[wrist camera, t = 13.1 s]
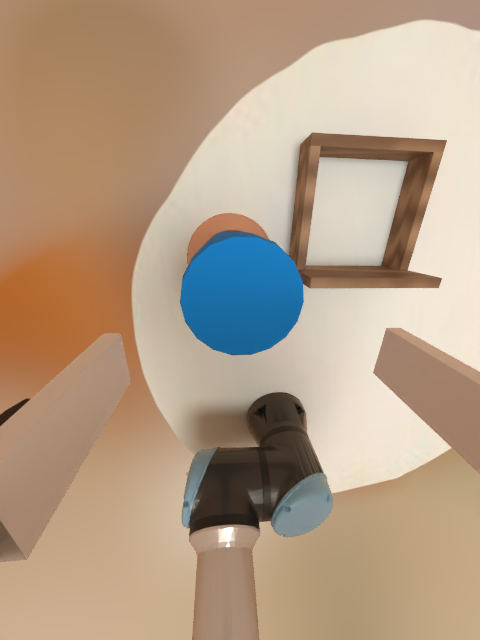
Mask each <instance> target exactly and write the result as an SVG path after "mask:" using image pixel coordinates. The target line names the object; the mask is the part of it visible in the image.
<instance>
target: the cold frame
mask: <svg viewBox="0 0 480 640" xmlns="http://www.w3.org/2000/svg"><path fill="white" fill-rule="evenodd" d="M446 142H447V140H431V139H413V138H395V137H378V136H360V135H342V134H324V133H312V134H311V135H310V136H309V137H308V138H307V139H306V140H305V141H304V142H303V143H302V144H301V147H300V157H299V167H298V177H297V187H296V197H295V207H294V216H293V226H292V236H291V246H290V256H289V257H290V258H291V259H292V260H293V261H294V263H295V265H296V267H297V269H298V272H299V274H300V276H301V279H302V281H303V284H305V285H306V286H308V287H309V288H439V285H440V283H441V280H442V278H438V277H434V276H429V275H425V274H421V273H416V272H412V271H408V267H409V263H410V260H411V257H412V253H413V250H414V247H415V244H416V240H417V237H418V234H419V230H420V227H421V224H422V221H423V217H424V214H425V211H426V207H427V204H428V201H429V198H430V194H431V191H432V188H433V184H434V181H435V178H436V175H437V171H438V168H439V165H440V161H441V158H442V155H443V152H444V148H445V145H446ZM319 157H336V158H357V159H378V160H399V161H409V162H408V166H407V170H406V174H405V178H404V181H403V185H402V189H401V193H400V197H399V201H398V205H397V208H396V212H395V216H394V220H393V224H392V228H391V232H390V236H389V239H388V243H387V247H386V251H385V255H384V259H383V263H382V266H305V264H306V257H307V249H308V241H309V233H310V226H311V218H312V210H313V202H314V195H315V187H316V179H317V171H318V163H319Z"/></svg>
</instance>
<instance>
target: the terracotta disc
mask: <svg viewBox="0 0 480 640" xmlns="http://www.w3.org/2000/svg"><path fill="white" fill-rule="evenodd" d="M225 230H238V231H243V232H248V233H253V234H256V235H259V236H261V237H263V238H266V239H268V240H269V238H268V237H267V235H266V233H265V232H264V230H263V229H262V228H261V227H260V226H259V225H258V224H257V223H256V222H254V221H253V220H251V219H250V218H248V217H245V216H243V215H239V214H232V213H229V214H221V215H217V216H214V217H212V218H210V219H208V220H207V221H205V222H204V223H203V224H202V225H201V226H200V227H199V228H198V229H197V230H196V231H195V233H194V235H193V236H192V238H191V241H190V243H189V247H188V254H187V261H188V265H189V263H190V261H191V259H192V257H193V256H194V255H195V254H196V253H197V251H198V250H199V249H200V248H201V247H202V246H203V245H204V244H205V243H206V242H207V241H208V240H209V239H210V238H211V237H213V236H214V235H215V234H217V233H220V232H222V231H225Z"/></svg>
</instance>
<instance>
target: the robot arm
mask: <svg viewBox="0 0 480 640" xmlns="http://www.w3.org/2000/svg"><path fill="white" fill-rule="evenodd" d="M373 373H374V374H375V375H376V376H377V377H378V378H379V379H380V380H381V381H382V382H383V383H384V384H385V385H386V386H388V387H389V388H390V389H391V390H392V391H393V392H394V393H395V394H396V395H397V396H398V397H399V398H400V399H401V400H402V401H403V402H404V403H405V404H407V405H408V406H409V407H410V408H411V409H412V410H413V411H414V412H415V413H416V414H417V415H418V416H419V417H420V418H421V419H422V420H423V421H424V422H425V423H427V424H428V425H429V426H430V427H431V428H432V429H433V430H434V431H435V432H436V433H437V434H438V435H439V436H440V437H441V438H442V439H443V440H444V441H446V442H447V443H448V444H449V445H450V446H451V447H452V448H453V449H454V450H455V451H456V452H457V453H458V454H459V455H460V456H461V457H462V458H463V459H465V460H466V461H467V462H468V463H469V464H470V465H471V466H472V467H473V468H474V469H475V470H476V471H477V472H478V473H479V474H480V372H479V371H477V370H475V369H473V368H472V367H470V366H468V365H466V364H464V363H463V362H461V361H459V360H457V359H455V358H454V357H452V356H450V355H448V354H446V353H445V352H443V351H441V350H439V349H437V348H436V347H434V346H432V345H430V344H428V343H427V342H425V341H423V340H421V339H419V338H418V337H416V336H414V335H412V334H410V333H409V332H407V331H405V330H403V329H401V328H386V331H385V335H384V338H383V342H382V345H381V348H380V352H379V355H378V359H377V362H376V365H375V369H374V372H373ZM130 382H131V380H130V376H129V371H128V366H127V361H126V356H125V351H124V347H123V342H122V337H121V333H104V334H102V335H101V336H100V337H99V338H98V339H97V340H96V341H95V342H94V343H93V344H91V345H90V346H89V347H88V348H87V349H86V350H85V351H84V352H82V353H81V354H80V355H79V356H78V357H77V358H76V359H75V360H74V361H72V362H71V363H70V364H69V365H68V366H67V367H66V368H65V369H64V370H63V371H61V372H60V373H59V374H58V375H57V376H56V377H55V378H54V379H52V380H51V381H50V382H49V383H48V384H47V385H46V386H45V387H44V388H43V389H41V390H40V391H39V392H38V393H37V394H36V395H35V396H34V397H33V398H31V399H25V400H23V401H21V402H20V403H18V404H16V405H15V406H13V407H11V408H9V409H8V410H6V411H5V412H3V413H2V414H1V415H0V562H6V561H16V560H26V559H27V558H28V557H29V555H30V553H31V551H32V550H33V548H34V547H35V545H36V543H37V541H38V540H39V538H40V536H41V535H42V533H43V531H44V529H45V528H46V526H47V524H48V523H49V521H50V519H51V517H52V515H53V514H54V512H55V511H56V509H57V507H58V505H59V504H60V502H61V500H62V498H63V497H64V495H65V493H66V491H67V490H68V488H69V487H70V485H71V483H72V481H73V480H74V478H75V476H76V474H77V473H78V471H79V469H80V468H81V466H82V464H83V463H84V461H85V459H86V457H87V456H88V454H89V452H90V451H91V449H92V447H93V445H94V444H95V442H96V440H97V439H98V437H99V435H100V433H101V432H102V430H103V428H104V427H105V425H106V423H107V421H108V420H109V418H110V416H111V414H112V413H113V411H114V410H115V408H116V406H117V404H118V403H119V401H120V399H121V397H122V396H123V394H124V392H125V391H126V389H127V387H128V386H129V384H130ZM247 421H248V427H249V430H250V432H251V434H252V436H253V438H254V439H255V441H256V443H257V445H258V447H244V448H219V447H217V448H215V449H206V450H201V451H199V452H198V453H197V454H196V455H195V456H194V458H193V461H192V463H191V467H190V470H189V474H188V478H187V483H186V488H185V494H184V503H183V509H182V524H183V526H184V527H186V528H190V533H189V542H190V543H191V545H192V546H193V547H194V549H195V551H196V553H197V571H196V587H195V588H196V589H195V603H194V621H193V636H192V640H259V630H258V617H257V605H256V592H255V580H254V567H253V555H252V550H253V547H254V545H255V543H256V541H257V540H258V538H259V536H260V530H259V529H260V528H259V522H264V521H271V525H272V527H273V529H274V531H275V532H276V533H277V534H278V535H283V536H284V537H294V536H299V535H302V534H305V533H307V532H309V531H311V530H313V529H315V528H316V527H318V526H319V525H320V524H322V523H323V522H324V521H325V520H326V519H327V517H328V516H329V514H330V512H331V510H332V507H333V497H332V494H331V491H330V488H329V485H328V482H327V477H326V475H325V474H324V472H323V470H322V468H321V465H320V463H319V461H318V458H317V456H316V454H315V451H314V449H313V447H312V444H311V442H310V440H309V437H308V435H307V422H306V413H305V410H304V408H303V406H302V404H301V402H300V401H299V400H298V399H297V398H296V397H294V396H292V395H290V394H286V393H272V394H268V395H266V396H263V397H261V398H260V399H258V400H257V401H256V402H254V403H253V405H252V406H251V407H250V409H249V411H248V415H247Z"/></svg>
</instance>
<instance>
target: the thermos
mask: <svg viewBox="0 0 480 640" xmlns="http://www.w3.org/2000/svg"><path fill="white" fill-rule="evenodd" d="M303 302H304V301H303V281H302V279H301V276H300V274H299V272H298V269H297V267H296V265H295V263H294V261H293V260H292V259H291V258H290V257H289V256H288V255H287V254H286V253H285V252H284V251H283V250H282V249H281V248H280V247H279V246H278V245H277V244H276V243H275V242H273V241H270V240H268V239H266V238H263V237H261V236H259V235H256V234H253V233H248V232H243V231H238V230H225V231H222V232H220V233H217V234H215V235H214V236H213V237H211V238H210V239H209V240H208V241H207V242H206V243H205V244H204V245H203V246H202V247H201V248H200V249H199V250H198V251H197V253H196V254H195V255H194V256H193V257H192V259H191V261H190V263H189V265H188V267H187V269H186V271H185V273H184V275H183V280H182V290H181V299H180V304H181V307H182V311H183V315H184V318H185V322H186V323H187V325H188V326H189V328H190V329H191V330H192V332H193V333H194V335H195V336H196V337H197V339H199V340H200V341H202V342H203V343H205V344H206V345H207V346H209V347H210V348H212V349H213V350H217V351H220V352H223V353H227V354H230V355H252V354H255V353H257V352H260V351H263V350H266V349H269V348H271V347H272V346H274V345H275V344H277V343H278V342H279V341H281V340H282V339H284V338H285V337H286V336H287V335H288V333H289V332H290V330H291V329H292V328H293V326H294V325H295V324H296V322H297V321H298V318H299V315H300V311H301V308H302V305H303Z"/></svg>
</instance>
